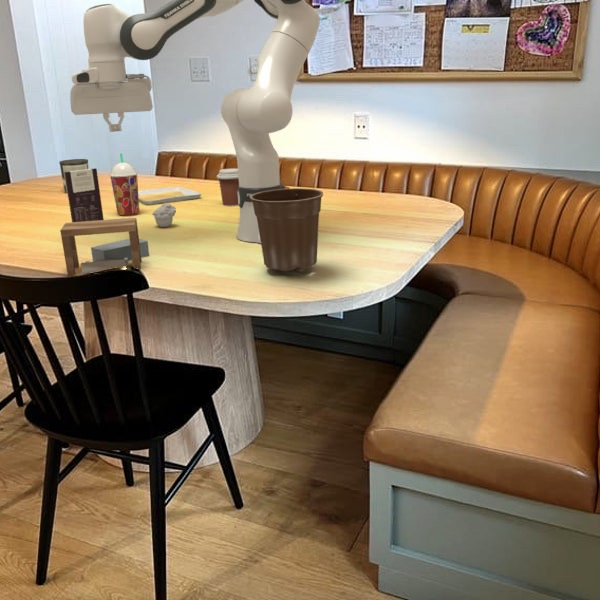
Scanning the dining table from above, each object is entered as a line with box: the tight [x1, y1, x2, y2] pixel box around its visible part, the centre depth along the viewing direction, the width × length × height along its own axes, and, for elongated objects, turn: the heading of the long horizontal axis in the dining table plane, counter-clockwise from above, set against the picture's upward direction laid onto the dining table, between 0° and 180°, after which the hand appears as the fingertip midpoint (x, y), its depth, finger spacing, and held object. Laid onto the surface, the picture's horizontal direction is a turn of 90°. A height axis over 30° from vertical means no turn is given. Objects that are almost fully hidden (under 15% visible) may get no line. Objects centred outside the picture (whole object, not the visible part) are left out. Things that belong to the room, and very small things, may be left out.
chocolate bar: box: [64, 168, 105, 222], centre depth 181 cm, size 9×1×18 cm, turn 131°
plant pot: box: [250, 187, 324, 272], centre depth 143 cm, size 16×16×16 cm
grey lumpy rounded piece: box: [151, 202, 177, 228], centre depth 186 cm, size 6×7×7 cm
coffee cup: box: [216, 168, 239, 207], centre depth 214 cm, size 9×9×12 cm
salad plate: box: [138, 186, 202, 206], centre depth 229 cm, size 21×21×3 cm
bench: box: [59, 217, 143, 277], centre depth 146 cm, size 8×16×10 cm, turn 101°
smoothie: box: [109, 153, 140, 217], centre depth 201 cm, size 8×8×20 cm
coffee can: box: [58, 158, 90, 195], centre depth 240 cm, size 10×10×14 cm
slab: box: [90, 238, 150, 262], centre depth 155 cm, size 12×6×4 cm, turn 136°
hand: (115, 131), depth 165 cm, fingers closed
